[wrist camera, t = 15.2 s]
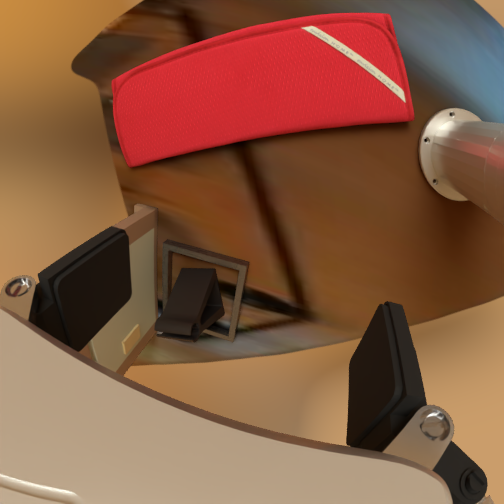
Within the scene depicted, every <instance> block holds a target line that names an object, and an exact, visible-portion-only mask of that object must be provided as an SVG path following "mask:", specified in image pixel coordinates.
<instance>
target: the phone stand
mask: <svg viewBox="0 0 504 504" xmlns="http://www.w3.org/2000/svg"><path fill="white" fill-rule="evenodd" d="M224 313H225V312H224V307H223V303H222V298H221V293H220V288H219V284H218V279H217V274H216V269H202V268H182V269H181V271H180V274H179V276H178V278H177V280H176V283H175V285H174V287H173V290H172V292H171V294H170V297H169V299H168V301H167V304H166V306H165V308H164V311H163V313H162V315H161V316H160V317H159V318H158V319H157V320H156V322H155V327H154V330H155V331H160V332H163V333H162V334H157V337H162V338H168V339H175V340H182V341H190V342H196V341H197V340H198V338H199V336H200V334H201V333H202V332H203V331H204V330H205V329H206V328H208V327H209V326H210V325H212V324H213V323H214V322H215V321H217V320H218V319H219V318H220V317H222V316H223V315H224Z"/></svg>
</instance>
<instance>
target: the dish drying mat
mask: <svg viewBox="0 0 504 504" xmlns="http://www.w3.org/2000/svg"><path fill="white" fill-rule="evenodd" d="M112 92H113V97H114V98H113V114H114V121H115V127H116V132H117V136H118V139H119V143H120V146H121V149H122V153H123V155H124V158H125V161H126V163H127V165H128V166H129V167H130V168H132V167H136V166H140V165H144V164H147V163H150V162H153V161H156V160H160V159H164V158H168V157H173V156H177V155H181V154H186V153H190V152H194V151H198V150H203V149H207V148H212V147H217V146H222V145H227V144H231V143H235V142H240V141H246V140H251V139H257V138H262V137H268V136H274V135H281V134H288V133H295V132H301V131H308V130H316V129H326V128H336V127H345V126H353V125H363V124H377V123H394V122H406V121H413V120H414V119H415V118H414V110H413V105H412V100H411V95H410V89H409V84H408V79H407V74H406V69H405V66H404V61H403V58H402V55H401V52H400V49H399V47H398V44H397V39H396V35H395V31H394V27H393V24H392V19H391V16H390V15H389V14H382V13H335V14H323V15H314V16H307V17H300V18H294V19H288V20H283V21H277V22H272V23H266V24H261V25H256V26H251V27H247V28H244V29H240V30H236V31H233V32H229V33H226V34H223V35H219V36H216V37H213V38H210V39H207V40H204V41H201V42H198V43H195V44H192V45H189V46H186V47H183V48H180V49H177V50H175V51H172V52H169V53H167V54H164V55H162V56H160V57H157V58H155V59H153V60H150V61H148V62H146V63H144V64H141V65H139V66H137V67H135V68H133V69H131V70H130V71H128V72H126V73H124V74H122V75H120V76H118V77H117V78H115V79H113V80H112Z"/></svg>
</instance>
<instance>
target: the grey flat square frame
mask: <svg viewBox="0 0 504 504" xmlns="http://www.w3.org/2000/svg"><path fill="white" fill-rule="evenodd" d="M172 251H173V252H176V253H180V254H183V255H187V256H190V257H194V258H197V259H201V260H204V261H208V262H211V263H215V264H218V265H222V266H225V267H229V268H232V269H236V270H239V276H238V282H237V288H236V294H235V300H234V306H233V312H232V318H231V324H230V330H225V329H222V328H219V327H216V326H213V325H210V326H209V327H208V328H206V329H205V330H204V331H203V332H204V333H207V334H210V335H213V336H216V337H219V338H222V339H225V340H228V341H232V342H233V341H234V339H235V337H236V331H237V326H238V321H239V315H240V310H241V304H242V299H243V294H244V288H245V283H246V277H247V272H248V266H249V262H248V261H244V260H240V259H237V258H233V257H229V256H226V255H222V254H218V253H215V252H211V251H207V250H204V249H200V248H197V247H193V246H189V245H186V244H182V243H179V242H175V241H171V240H168V239H167V240H166V241H165V242H164V243H163V311H164V308H165V306H166V304H167V301H168V299H169V297H170V294H171V282H172Z"/></svg>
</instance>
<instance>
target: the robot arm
mask: <svg viewBox="0 0 504 504" xmlns="http://www.w3.org/2000/svg"><path fill="white" fill-rule="evenodd" d="M449 113H451V116H450V115H449ZM425 138H426V140H427V141H426V142H424V139H425ZM418 153H419V161H420V166H421V169H422V171H423V174H424V176H425V178H426V179H427V181H428V183H429V184H430V185H431V186H432V187H433V189H435V190H436V191H437V192H438V193H439V194H441V195H442V196H444V197H446V198H448V199H451V200H455V201H467V200H470V201H471V202H473V203H474V204H476V205H477V206H478V207H480V208H481V209H483V210H484V211H485V212H487V213H488V214H489V215H491V216H492V217H493V218H495V219H496V220H497V221H499V222H500V223H501V224H503V225H504V124H501V123H492V122H482V121H481V120H480V119H479V118H478V117H477V116H476V115H474V114H473V113H471V112H469V111H466V110H464V109H458V108H449V109H445V110H441V111H439V112H437V113H436V114H434V115H433V116H432V117H431V118H430V119H429V120H428V121H427V123H426V124H425V126H424V128H423V130H422V132H421V136H420V139H419V147H418ZM434 179H435V182H433V180H434ZM38 278H39V281H40V282H39V283H38V284H37V285H36V281H35V280H34V278H32V277H31V276H27V275H26V276H25V275H22V276H17V277H14V278H12V279H10V280H9V281H7V282H6V283H5V284H4V286H3V288H2V290H1V293H0V504H494V503H493V501H492V499H491V497H490V495H489V496H487V497H485V493H486V490H487V478H486V476H485V473H484V472H483V470H482V469H481V468H480V467H479V466H478V465H477V464H476V463H475V462H474V461H473V460H471V459H470V458H469V457H468V456H467V455H466V454H465V453H464V452H463V451H462V450H461V449H460V448H459V447H458V446H457V445H456V444H455V443H454V442H452V441H451V439H452V437H453V434H454V424H453V421H452V419H451V417H450V415H449V414H448V413H447V412H446V411H445V410H444V409H442V408H440V407H438V406H435V405H427V403H426V397H425V392H424V387H423V382H422V377H421V372H420V368H419V364H418V359H417V355H416V351H415V348H414V346H413V342H412V338H411V334H410V331H409V327H408V323H407V320H406V316H405V313H404V309H403V306H402V305H400V304H396V303H392V302H388V301H387V302H385V303H384V305H383V304H380V305H379V306H378V308H377V310H376V312H375V314H374V316H373V318H372V320H371V322H370V324H369V326H368V328H367V330H366V332H365V334H364V336H363V338H362V340H361V341H360V343H359V345H358V347H357V349H356V351H355V352H354V354H353V356H352V358H351V360H350V364H349V400H348V423H347V438H346V443H347V445H348V446H342V445H336V444H330V443H324V442H320V441H314V440H309V439H305V438H300V437H296V436H291V435H287V434H283V433H278V432H274V431H270V430H267V429H263V428H259V427H255V426H252V425H248V424H245V423H241V422H238V421H235V420H232V419H228V418H225V417H222V416H219V415H216V414H213V413H210V412H208V411H205V410H202V409H199V408H196V407H194V406H191V405H188V404H185V403H183V402H180V401H178V400H175V399H173V398H171V397H168V396H166V395H163V394H161V393H158V392H156V391H154V390H152V389H150V388H147V387H145V386H143V385H141V384H138V383H136V382H134V381H132V380H130V379H128V378H125V377H124V376H122V375H120V374H118V373H116V372H114V371H112V370H110V369H108V368H106V367H104V366H102V365H100V364H98V363H97V362H95V361H93V360H91V359H89V358H88V357H86V356H84V355H82V354H80V353H79V352H80V351H81V350H82V349H83V348H84V347H85V346H86V345H87V344H88V343H89V342H90V341H91V340H92V338H93V337H94V336H95V335H96V334H97V333H98V332H99V331H100V330H101V329H102V328H103V327H104V326H105V325H106V324H107V323H108V322H109V321H110V319H111V318H112V317H113V316H114V315H115V314H116V313H117V312H118V311H119V310H120V309H121V308H122V307H123V306H124V305H125V304H126V303H127V302H128V301H129V300H130V298H131V296H132V283H131V269H130V250H129V236H128V235H127V234H126V231H125V230H124V229H120V228H117V227H113V226H111V227H109V228H108V229H106V230H104V231H102V232H101V233H99V234H97V235H96V236H94V237H93V238H91V239H89V240H88V241H86V242H85V243H83V244H82V245H80V246H78V247H77V248H75V249H74V250H72V251H71V252H69V253H68V254H66V255H65V256H63V257H62V258H60V259H59V260H57V261H56V262H54V263H53V264H51V265H50V266H48V267H47V268H46V269H44V270H43V271H41V272H40V273H38ZM349 446H350V447H349Z"/></svg>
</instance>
